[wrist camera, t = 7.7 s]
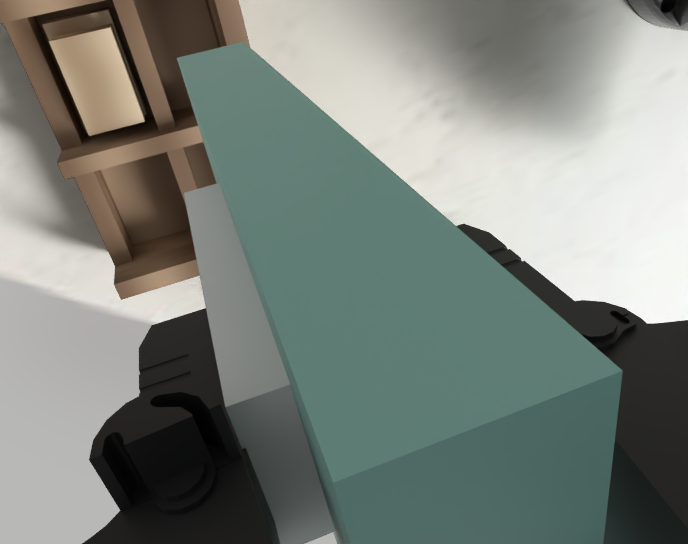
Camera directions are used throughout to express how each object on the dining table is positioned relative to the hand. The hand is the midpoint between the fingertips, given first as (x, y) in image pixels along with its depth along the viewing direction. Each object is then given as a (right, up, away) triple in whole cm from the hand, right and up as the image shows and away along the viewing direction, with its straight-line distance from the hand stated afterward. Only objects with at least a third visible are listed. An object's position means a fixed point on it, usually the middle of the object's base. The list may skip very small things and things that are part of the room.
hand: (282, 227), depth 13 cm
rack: (-11, +10, +26) cm, 30 cm away
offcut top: (-13, +10, +21) cm, 27 cm away
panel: (-2, +3, +6) cm, 7 cm away
